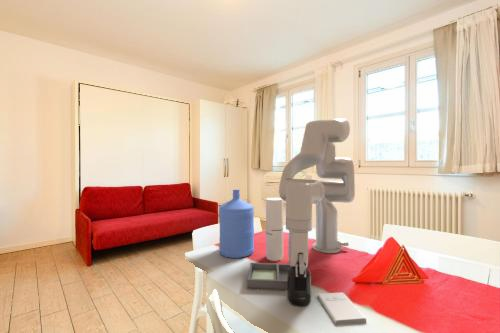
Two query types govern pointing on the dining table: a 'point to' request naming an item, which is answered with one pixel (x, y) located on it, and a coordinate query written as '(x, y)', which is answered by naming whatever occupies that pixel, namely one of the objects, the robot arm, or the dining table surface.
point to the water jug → (236, 228)
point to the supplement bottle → (298, 296)
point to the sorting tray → (267, 276)
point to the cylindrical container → (274, 229)
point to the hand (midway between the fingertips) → (298, 281)
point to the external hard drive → (341, 308)
